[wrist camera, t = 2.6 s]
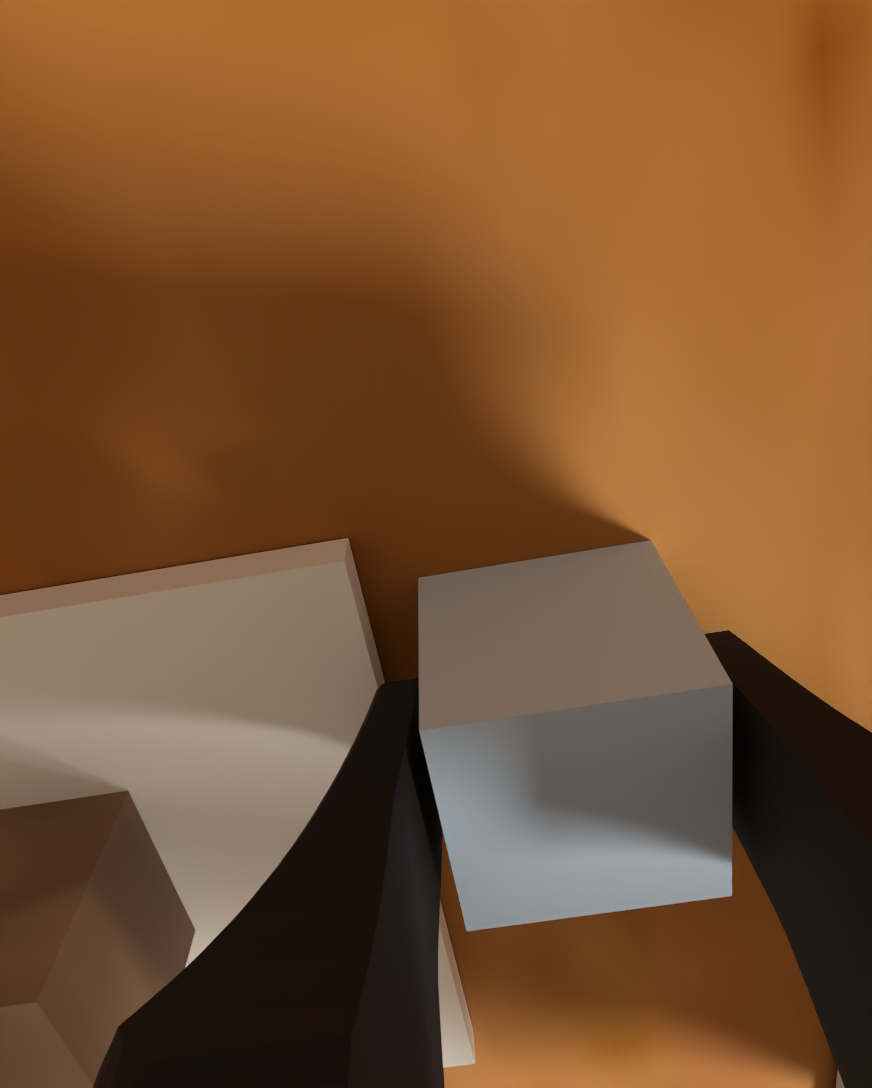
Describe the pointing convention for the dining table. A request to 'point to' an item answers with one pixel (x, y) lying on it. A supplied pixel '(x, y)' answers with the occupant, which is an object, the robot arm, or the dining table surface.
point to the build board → (201, 716)
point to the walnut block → (80, 935)
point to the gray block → (574, 737)
